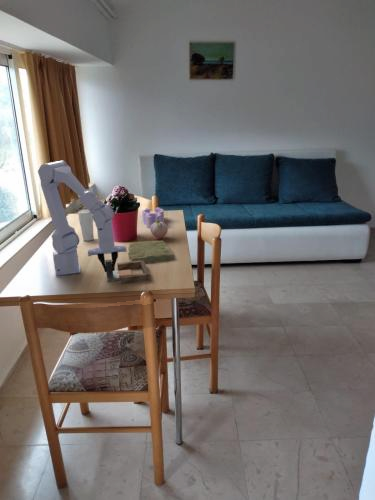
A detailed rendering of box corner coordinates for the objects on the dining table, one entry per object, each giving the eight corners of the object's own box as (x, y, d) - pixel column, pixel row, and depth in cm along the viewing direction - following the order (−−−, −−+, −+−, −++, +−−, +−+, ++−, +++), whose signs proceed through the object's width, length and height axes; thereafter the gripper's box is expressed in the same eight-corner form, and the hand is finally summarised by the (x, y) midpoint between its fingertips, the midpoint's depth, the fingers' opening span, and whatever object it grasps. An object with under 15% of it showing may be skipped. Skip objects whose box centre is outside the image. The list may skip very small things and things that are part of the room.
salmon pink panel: (119, 279, 145) (118, 275, 144) (118, 274, 149) (117, 270, 149) (132, 277, 146) (131, 274, 145) (130, 272, 150) (130, 269, 150)
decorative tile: (164, 245, 180) (163, 238, 179) (173, 260, 162) (173, 253, 160) (125, 250, 175) (124, 242, 174) (130, 265, 157) (130, 258, 156)
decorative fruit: (170, 240, 185) (170, 221, 182) (155, 243, 182) (154, 223, 179) (163, 235, 193) (162, 216, 190) (149, 237, 190) (147, 218, 186)
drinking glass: (96, 240, 188) (92, 212, 182) (82, 242, 185) (78, 213, 180) (94, 236, 194) (90, 208, 188) (81, 238, 191) (77, 210, 186)
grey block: (107, 281, 142) (105, 265, 140) (106, 273, 149) (104, 257, 147) (119, 280, 143) (117, 263, 141) (117, 272, 150) (116, 256, 148)
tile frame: (121, 284, 140) (120, 278, 139) (117, 268, 154) (117, 263, 153) (150, 280, 143) (149, 274, 142) (144, 265, 156) (143, 260, 155)
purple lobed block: (165, 228, 205) (165, 216, 203) (143, 229, 204) (142, 217, 202) (163, 218, 224) (162, 207, 221) (142, 219, 223) (141, 208, 220)
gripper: (86, 243, 135) (90, 277, 140) (126, 238, 138) (129, 272, 143) (86, 237, 141) (90, 269, 146) (124, 233, 144) (127, 265, 149)
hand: (109, 270), depth 145 cm, fingers closed on grey block, 2 cm apart
